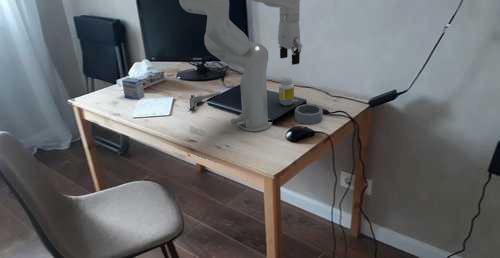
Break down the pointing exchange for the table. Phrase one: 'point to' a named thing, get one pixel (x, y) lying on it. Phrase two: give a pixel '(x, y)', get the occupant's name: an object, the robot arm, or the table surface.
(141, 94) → the medicine box
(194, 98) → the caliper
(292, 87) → the pill bottle
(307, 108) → the socket cup
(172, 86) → the table surface
